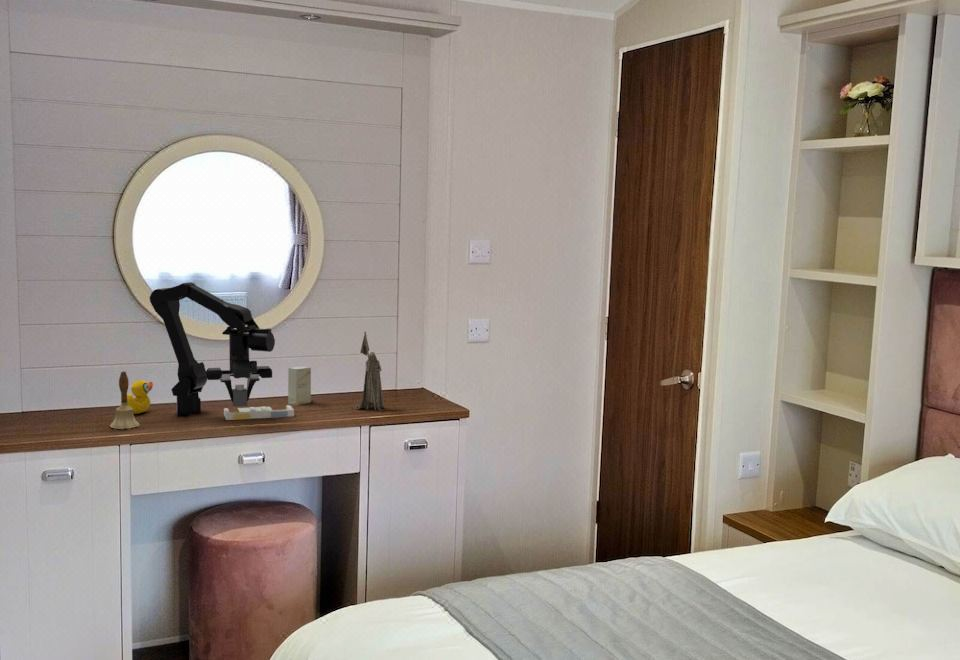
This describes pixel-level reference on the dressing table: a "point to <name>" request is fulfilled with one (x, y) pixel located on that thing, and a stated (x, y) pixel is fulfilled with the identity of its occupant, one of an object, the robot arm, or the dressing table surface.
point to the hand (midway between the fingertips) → (239, 401)
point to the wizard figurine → (371, 380)
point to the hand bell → (124, 407)
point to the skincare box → (299, 385)
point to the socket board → (259, 413)
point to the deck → (254, 407)
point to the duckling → (139, 396)
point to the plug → (239, 396)
